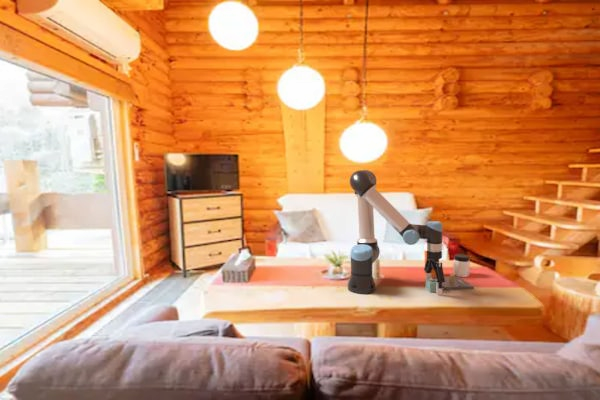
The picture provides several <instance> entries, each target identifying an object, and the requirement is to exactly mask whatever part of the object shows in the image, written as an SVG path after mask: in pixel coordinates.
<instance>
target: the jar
mask: <svg viewBox="0 0 600 400" xmlns="http://www.w3.org/2000/svg"><path fill="white" fill-rule="evenodd" d="M453 258H454V259H453V263H452V264H453V265H452V266H453V269H452V270H453V271H452V274H454V275H455V277H460V278H467V276H468V277H470V263H471V262H470V261H471V260H470V255H467V254H462V253H456V254H454V256H453Z"/></svg>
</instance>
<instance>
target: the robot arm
mask: <svg viewBox="0 0 600 400" xmlns="http://www.w3.org/2000/svg"><path fill="white" fill-rule="evenodd" d="M377 181H378V180H377V176H376V175H375V174H374V173H373V172H372V171H370V170H368V169H367V170H366V169H362V170H356V171H354V172H353V173H352V174H351V175H350V177H349V184H350V187H351V188H352V190H353V191H354V196H356V197H357V210H358V211H357V213H358V214H357V215H358V233H359V234H358V235H359V238H358V239H356V240H357V241H356V242H357V243H356V245H353V246H352V247H351V249H350V255H349V256H350V276H349V279H348V282H347V289H348V291H349V292H352V293H354V294H355V293H356V294H361V295H362V294H365V295H366V294H367V295H368V294H372V293H375V292H376V288H377V287H376V282H375V280H374V279H375V278H374V276H373V265H374V262H376V261H377V260H378V259H379V257H380V247H379V245H378V239H377V238H376V237H375V217H374V209H375V210H376V212H378V214H379V215H380V216H381V217H382V218H384V220H385V221H387V223H388V224H389V225H390V226H391V227H392V229H394V230H395V231H396V232H397V233H398V234H399V235H400V236H401V237H402V239H403V241H404V243H405V244H406V245H409V246H410V245H411V246H412V245H415V244H417V243H418V242H419V241H420V239H421V240H426V243H427V260H426V264H425V263H424V268H423V270H424V273H425V272H426V275H425V280H426V279H432V277H431V273H432V272H431V271H432V269H433V270H435V274H436V278H437V281H436V282H437V289H436V292H435V294H436V295H443V288H442V282H445V279H444V277H445V275H444V270H443V262H440V259H442V258H443V252H442V250H443V224H442V222H440V221H436V220H432V221H431V220H428V221H427V222H426V224H413V223H410V222H409V221H408V220H407V218H405V217H404V216H403V215H402V214H401V212H400V211H398V210H397V209H396V208H395V207H394V205H392V204H391V203H390V201H388V199H386V198H385V196H383V195H382V194H381V192H380V191H378V189H376V185H377Z"/></svg>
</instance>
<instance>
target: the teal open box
mask: <svg viewBox="0 0 600 400" xmlns="http://www.w3.org/2000/svg"><path fill="white" fill-rule="evenodd" d="M436 281H437V279H432V278H431V279H426V278H425V289H426V290H427V291H428V292H429V293H436V289H437V282H436Z"/></svg>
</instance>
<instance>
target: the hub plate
mask: <svg viewBox="0 0 600 400" xmlns="http://www.w3.org/2000/svg"><path fill="white" fill-rule="evenodd" d="M431 279H437V278H436V277H431ZM444 279H445V282H442V290H446V291H447V290H449V291H450V290H452V291H454V290H455V291H456V290H474V285H472V284H471V283H469V282H468V281H467V280H465V279H463V277H458V276H456V275H454V274H453V273H449V276H444Z"/></svg>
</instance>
